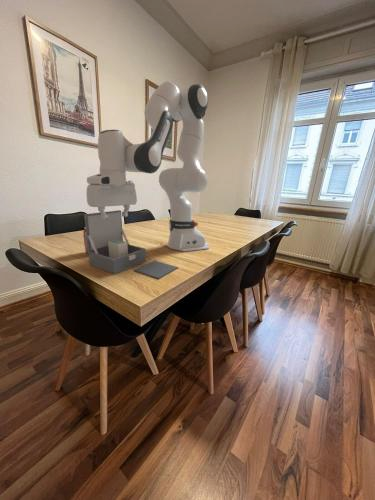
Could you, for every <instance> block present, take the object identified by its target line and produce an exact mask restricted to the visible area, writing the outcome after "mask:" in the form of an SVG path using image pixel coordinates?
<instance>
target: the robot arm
mask: <svg viewBox="0 0 375 500" xmlns="http://www.w3.org/2000/svg"><path fill="white" fill-rule="evenodd" d="M208 104H209V95H208V92H207V90H206V89H205V87H204V86H203V85H202V84H197V83H196V84H195V83H194V84H191V85H190V86H188V87H185V88H182V89H180V90H179V87H178V86H177V85H176V84H175V83H173V82H172V81H165V82H164V81H163V82H162V83H161V84H160V85H159V86H158V87H157V88H156V89H155V90H154V92H153V93H152V94H151V96H150V97H149V99H148V100H147V103H146V105H145V108H144V116H145V120H146V122H147V124H148V125H149V126H150V127H151V128H152V131H151V134H150V136H149V139H148V140H146V141H144V142H141V143H132V142H131V141H129V140H128V139H127V138H126V137H125V136H124V134H123V132H122V131H121V130H119V129H105V130H102V131H101V132H99V134H98V139H97V150H98V151H97V153H98V159H99V163H100V165H99V173H97V174H94V175H90V176H87V178H86V182H87V184H88V185H87V186H86V203H87V205H88V206H89V207H90V208H91V207H92V208H97V210H98V213H101V217H102V219H108V214H106V213H105V212H106V211H105V210H106V207H119V206H123V208H124V209H123V211H121V217H124V218H126V217H128V216H129V214H128V212H129V211H130V208H131V207H130V206H133V205H137V202H138V199H137V191H136V185H135V183H134V182H133V181H132V180H127V177H126V176H127V174H126V172H128V173H145V174H154V173H156V172H157V171H158V170H159V169H160V167H161V164H162V160H163V155H164V154H163V153H164V151H165V148H166V145H167V144H168V140H169V138H170V135H171V132H172V129H173V127H174V126H173V125H174V123H177V122H180V121H181V122H182V130H181V132H180V137H179V140H178V145H177V150H176V154H177V155H176V156H177V157H178V159H179V161H181V162H182V163H183V165H182V167H173V168H172V167H170V168H166V169H163V170H161V171H160V173H159V176H158V183H159V186H160V187H161V189H163V190H164V192H165V194H166V195H167V198H168V200H169V207H170V208H169V209H170V219H169V236H168V241H167V245H166V247H167V248H169V249H172V250H175V251H180V252H191V251H192V252H193V251H201V250H202V251H203V250H208V249H210V244H209V243H208V242H206V237H205V235H204V234H203V232H201V231H200V230H199V229H198V228H197V227H198V226H199V222H197V221H195V220H193V208H194V207H193V203H191V201H190V200H188V199H187V198H186V196H185V195H186V194H185V193H190V194H191V193H192V194H195V193H200V192H203V191H204V190H205V189H206V188H207V185H208V183H209V181H208V179H209V178H208V173H206V172H205V170H204V169H203V168H202V165H201V162H200V161H201V160H200V158H201V152H202V151H201V150H202V146H203V143H204V142H203V140H204V136H205V135H204V134H205V122H204V120H203V118H204V117H205V116H206V111H207V108H208V106H209V105H208Z"/></svg>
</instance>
